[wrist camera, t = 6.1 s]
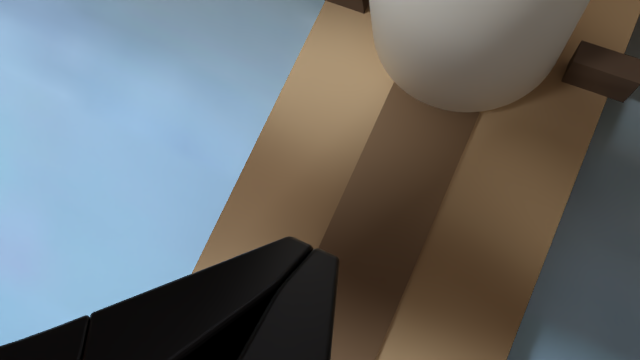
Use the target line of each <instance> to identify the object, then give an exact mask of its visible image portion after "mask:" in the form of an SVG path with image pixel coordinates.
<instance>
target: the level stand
mask: <svg viewBox="0 0 640 360" xmlns="http://www.w3.org/2000/svg"><path fill="white" fill-rule="evenodd" d="M639 14H640V0H590V1H589V3H588V5H587V7H586V9H585V11H584V13H583V14H582V16H581V18H580V20H579V22H578V24H577V25H576V27H575V29H574V31H573V33H572V35H571V36H570V38H569V40H568V42H567V44H566V46H565V47H564V49H563V51H562V53H561V55H560V57H559V58H558V60H557V62H556V64H555V66H554V67H553V69H552V70H551V71H550V73H549V74H548V76H547V77H546V78H545V79H544V80H543V81H542V82H541V83H540V85H538V86H537V87H536V88H535V89H534V90H532V91H531V92H530V93H528V94H527V95H525V96H524V97H522V98H521V99H519V100H517V101H515V102H513V103H510V104H508V105H506V106H503V107H499V108H496V109H492V110H487V111H482V112H454V111H448V110H443V109H439V108H436V107H433V106H430V105H428V104H425V103H423V102H421V101H419V100H417V99H415V98H414V97H412V96H411V95H409V94H408V93H406V92H405V91H404V90H403V89H401V88H400V87H399V86H398V85H397V84H396V83H395V82H394V81H393V80H392V79H391V77H390V76H389V75H388V73H387V72H386V70H385V69H384V67H383V65H382V63H381V62H380V60H379V57H378V54H377V52H376V49H375V44H374V39H373V31H372V22H371V14H370V5H369V0H325V3H324V5H323V7H322V9H321V11H320V13H319V15H318V17H317V19H316V21H315V23H314V25H313V27H312V29H311V31H310V33H309V35H308V37H307V39H306V41H305V43H304V46H303V48H302V50H301V52H300V54H299V56H298V58H297V60H296V62H295V64H294V66H293V68H292V70H291V72H290V74H289V76H288V78H287V80H286V82H285V84H284V86H283V88H282V90H281V92H280V95H279V97H278V99H277V101H276V103H275V105H274V107H273V109H272V111H271V113H270V115H269V117H268V119H267V121H266V123H265V125H264V127H263V129H262V131H261V133H260V135H259V137H258V139H257V141H256V144H255V146H254V148H253V150H252V152H251V154H250V156H249V158H248V160H247V162H246V164H245V166H244V168H243V170H242V172H241V174H240V176H239V178H238V180H237V182H236V184H235V186H234V188H233V190H232V193H231V195H230V197H229V199H228V201H227V203H226V205H225V207H224V209H223V211H222V213H221V215H220V217H219V219H218V221H217V223H216V225H215V227H214V229H213V231H212V233H211V235H210V237H209V240H208V242H207V244H206V246H205V248H204V250H203V252H202V254H201V256H200V258H199V260H198V262H197V264H196V266H195V268H194V270H193V272H192V274H193V273H195V272H198V271H200V270H203V269H205V268H208V267H210V266H213V265H215V264H218V263H221V262H223V261H226V260H228V259H231V258H233V257H236V256H238V255H241V254H243V253H246V252H249V251H251V250H254V249H256V248H259V247H261V246H264V245H266V244H269V243H272V242H274V241H277V240H279V239H282V238H284V237H287V236H292V237H295V238H297V239H299V240H302V241H304V242H306V243H308V244H310V245H312V247H313V249H316V248H319V249H322V250H324V251H326V252H329V253H331V254H333V255H335V256H337V257H338V258H339V260H340V263H339V274H338V285H337V295H336V306H335V317H334V327H333V338H332V349H331V359H330V360H507V357H508V355H509V352H510V349H511V347H512V344H513V342H514V339H515V336H516V334H517V331H518V329H519V326H520V323H521V321H522V318H523V316H524V313H525V310H526V308H527V305H528V303H529V300H530V297H531V295H532V292H533V290H534V287H535V284H536V282H537V279H538V277H539V274H540V271H541V269H542V266H543V264H544V261H545V258H546V256H547V253H548V251H549V248H550V245H551V243H552V240H553V238H554V235H555V232H556V230H557V227H558V225H559V222H560V219H561V217H562V214H563V212H564V209H565V206H566V204H567V201H568V199H569V196H570V193H571V191H572V188H573V186H574V183H575V180H576V178H577V175H578V173H579V170H580V167H581V165H582V162H583V160H584V157H585V154H586V152H587V149H588V147H589V144H590V141H591V139H592V136H593V134H594V131H595V128H596V126H597V123H598V121H599V118H600V115H601V113H602V110H603V108H604V105H605V102H606V100H607V97H608V98H611V99H614V100H617V101H620V102H624V101H625V100H626V99H627V98H628V97H629V96H630V95H631V94H632V93H633V92H634V91H635V90H636V88H637V87H638V86H639V85H640V59H638V58H635V57H632V56H629V55H626V54H624V53H625V50H626V48H627V45H628V43H629V40H630V37H631V35H632V32H633V30H634V27H635V24H636V22H637V19H638V17H639Z"/></svg>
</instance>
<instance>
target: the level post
mask: <svg viewBox="0 0 640 360" xmlns="http://www.w3.org/2000/svg"><path fill="white" fill-rule="evenodd" d="M589 1H590V0H369V5H370V14H371V22H372V31H373V39H374V44H375V49H376V52H377V54H378V57H379V60H380V62H381V63H382V65H383V67H384V69H385V70H386V72H387V73H388V75H389V76H390V77H391V79H392V80H393V81H394V82H395V83H396V84H397V85H398V86H399V87H400V88H401V89H403V90H404V91H405V92H406V93H408V94H409V95H411V96H412V97H414V98H415V99H417V100H419V101H421V102H423V103H425V104H428V105H430V106H433V107H436V108H439V109H443V110H448V111H454V112H482V111H487V110H492V109H496V108H499V107H503V106H506V105H508V104H510V103H513V102H515V101H517V100H519V99H521V98H522V97H524V96H525V95H527V94H528V93H530V92H531V91H532V90H534V89H535V88H536V87H537V86H538V85H540V83H541V82H542V81H543V80H544V79H545V78H546V77H547V76H548V74H549V73H550V71H551V70H552V69H553V67H554V66H555V64H556V62H557V60H558V58H559V57H560V55H561V53H562V51H563V49H564V47H565V46H566V44H567V42H568V40H569V38H570V36H571V35H572V33H573V31H574V29H575V27H576V25H577V24H578V22H579V20H580V18H581V16H582V14H583V13H584V11H585V9H586V7H587V5H588V3H589Z"/></svg>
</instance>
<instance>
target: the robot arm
mask: <svg viewBox="0 0 640 360" xmlns="http://www.w3.org/2000/svg"><path fill="white" fill-rule="evenodd" d="M339 263H340V260H339V258H338V257H337V256H335V255H333V254H331V253H329V252H326V251H324V250H322V249H319V248H316V249H313V247H312V245H310V244H308V243H306V242H304V241H302V240H299V239H297V238H295V237H292V236H287V237H284V238H282V239H279V240H277V241H274V242H272V243H269V244H266V245H264V246H261V247H259V248H256V249H254V250H251V251H249V252H246V253H243V254H241V255H238V256H236V257H233V258H231V259H228V260H226V261H223V262H221V263H218V264H215V265H213V266H210V267H208V268H205V269H203V270H200V271H198V272H195V273H193V274H190V275H187V276H185V277H182V278H180V279H177V280H175V281H172V282H170V283H167V284H164V285H162V286H159V287H157V288H154V289H152V290H149V291H147V292H144V293H142V294H139V295H136V296H134V297H131V298H129V299H126V300H124V301H121V302H119V303H116V304H114V305H111V306H108V307H106V308H103V309H101V310H98V311H96V312H93V313H92V314H91V315H90V317H89V316H87V315H85V316H82V317H80V318H77V319H75V320H72V321H70V322H67V323H65V324H62V325H59V326H57V327H54V328H51V329H48V330H46V331H43V332H40V333H37V334H35V335H32V336H29V337H26V338H24V339H21V340H18V341H15V342H12V343H8V344H5V345H2V346H0V360H330V359H331V349H332V338H333V327H334V317H335V306H336V295H337V285H338V274H339Z"/></svg>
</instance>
